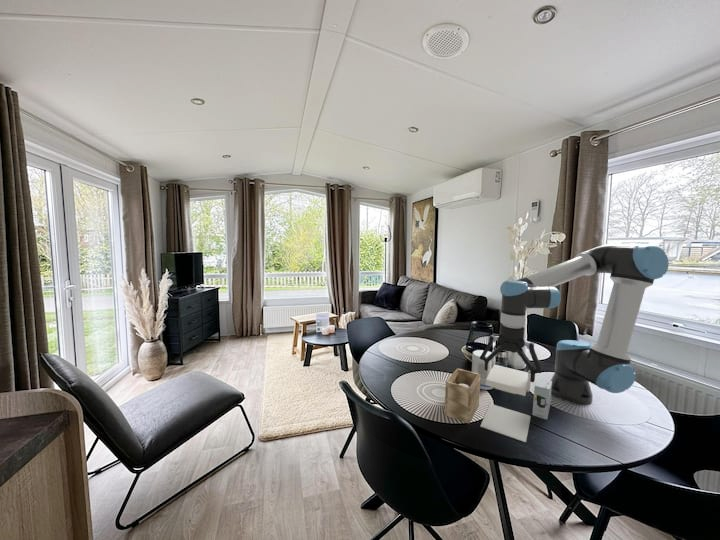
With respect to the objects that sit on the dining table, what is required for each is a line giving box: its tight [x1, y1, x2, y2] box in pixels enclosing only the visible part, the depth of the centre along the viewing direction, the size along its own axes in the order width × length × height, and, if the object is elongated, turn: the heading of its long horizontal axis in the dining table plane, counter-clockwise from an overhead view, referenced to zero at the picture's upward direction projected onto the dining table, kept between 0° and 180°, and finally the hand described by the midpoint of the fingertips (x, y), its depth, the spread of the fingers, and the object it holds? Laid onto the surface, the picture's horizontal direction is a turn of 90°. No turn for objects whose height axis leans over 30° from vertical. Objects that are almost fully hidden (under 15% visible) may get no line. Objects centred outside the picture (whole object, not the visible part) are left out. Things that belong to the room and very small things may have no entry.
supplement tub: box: [471, 349, 496, 391], centre depth 130 cm, size 10×10×15 cm
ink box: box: [531, 377, 552, 420], centre depth 110 cm, size 9×5×12 cm, turn 141°
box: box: [444, 368, 481, 424], centre depth 111 cm, size 9×14×13 cm, turn 145°
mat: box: [480, 403, 532, 444], centre depth 105 cm, size 14×17×1 cm
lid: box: [485, 364, 529, 397], centre depth 103 cm, size 12×15×3 cm
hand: (507, 384), depth 103 cm, fingers closed on lid, 12 cm apart
